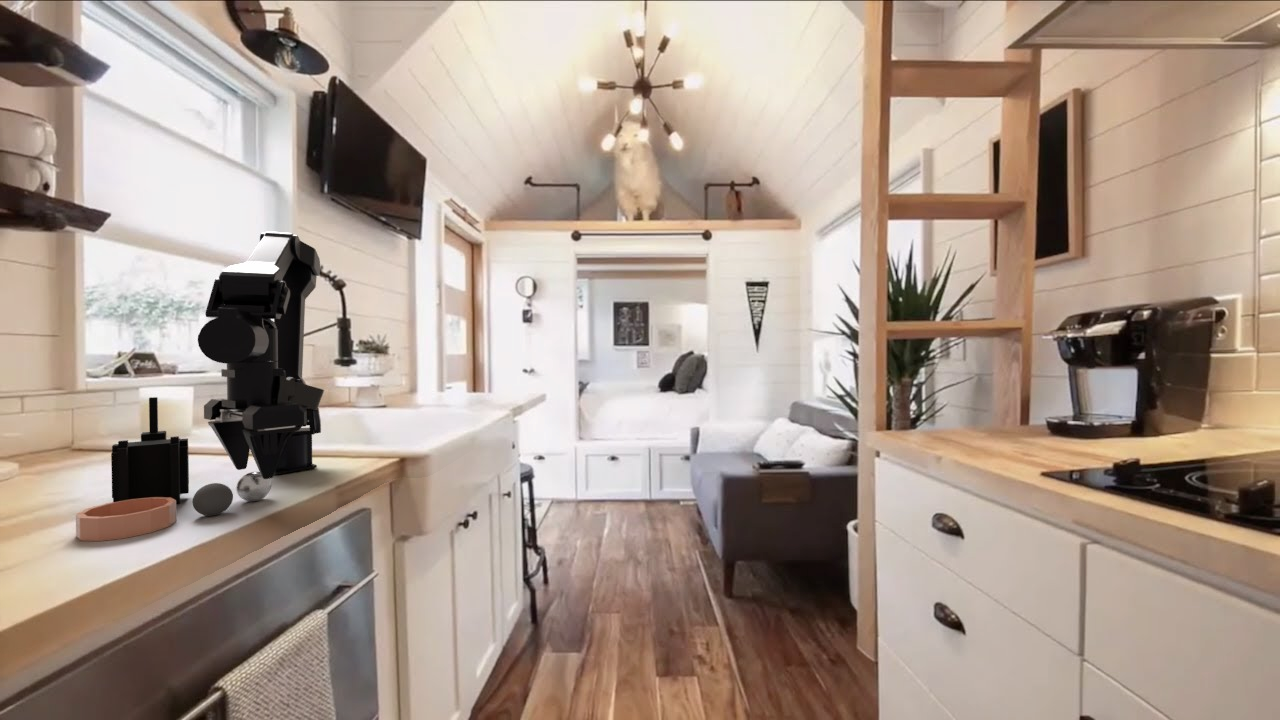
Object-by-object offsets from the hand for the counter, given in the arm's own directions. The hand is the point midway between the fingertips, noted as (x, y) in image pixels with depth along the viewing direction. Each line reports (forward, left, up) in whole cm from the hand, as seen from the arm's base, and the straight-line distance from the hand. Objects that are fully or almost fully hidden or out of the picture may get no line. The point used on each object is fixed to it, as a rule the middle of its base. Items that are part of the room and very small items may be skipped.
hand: (254, 473), depth 73 cm
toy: (+10, -6, +3) cm, 12 cm away
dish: (+13, +1, -4) cm, 14 cm away
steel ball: (0, 0, -2) cm, 2 cm away
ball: (+6, +3, -2) cm, 7 cm away
